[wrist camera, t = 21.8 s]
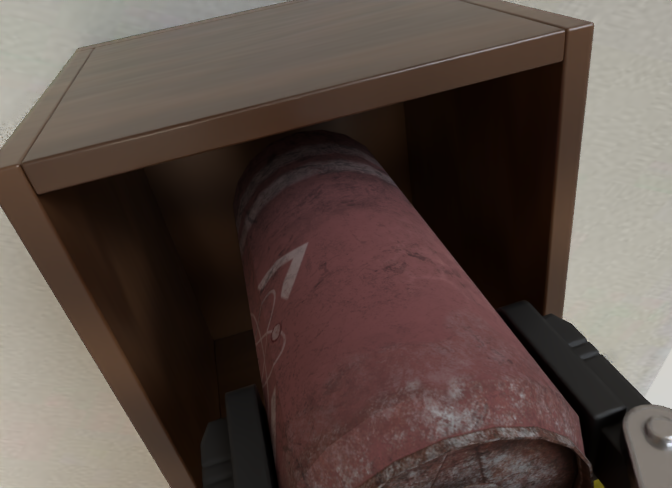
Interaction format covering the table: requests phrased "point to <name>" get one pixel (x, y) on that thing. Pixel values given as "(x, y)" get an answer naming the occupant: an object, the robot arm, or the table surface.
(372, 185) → the can
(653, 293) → the table surface
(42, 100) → the wooden box
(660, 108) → the table surface
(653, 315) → the table surface
